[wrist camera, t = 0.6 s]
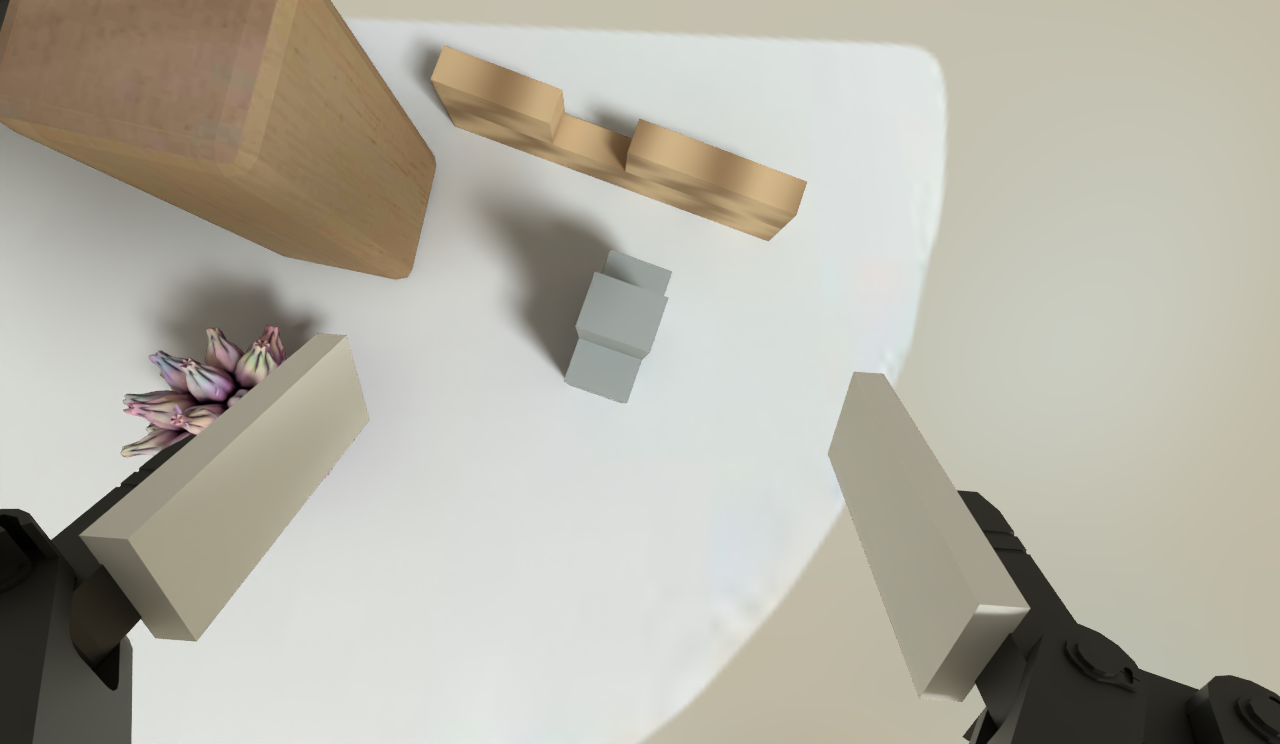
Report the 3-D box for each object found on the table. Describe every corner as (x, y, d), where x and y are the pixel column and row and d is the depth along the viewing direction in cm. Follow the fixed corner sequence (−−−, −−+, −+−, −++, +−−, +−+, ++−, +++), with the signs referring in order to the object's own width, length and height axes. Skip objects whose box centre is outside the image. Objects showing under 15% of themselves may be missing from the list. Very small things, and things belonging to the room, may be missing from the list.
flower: (420, 419, 40) (345, 427, 28) (290, 531, 39) (155, 588, 27) (316, 303, 40) (196, 262, 28) (183, 412, 39) (-1, 417, 27)
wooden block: (310, 129, 40) (31, -135, 21) (442, 159, 41) (297, -69, 21) (278, 257, 40) (-43, 111, 20) (413, 285, 40) (234, 172, 20)
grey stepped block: (620, 402, 41) (632, 403, 27) (571, 385, 41) (557, 377, 27) (656, 299, 42) (685, 248, 28) (607, 282, 42) (612, 221, 28)
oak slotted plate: (454, 126, 41) (430, 79, 35) (466, 96, 41) (443, 45, 36) (768, 241, 43) (796, 215, 37) (778, 212, 43) (807, 181, 37)
